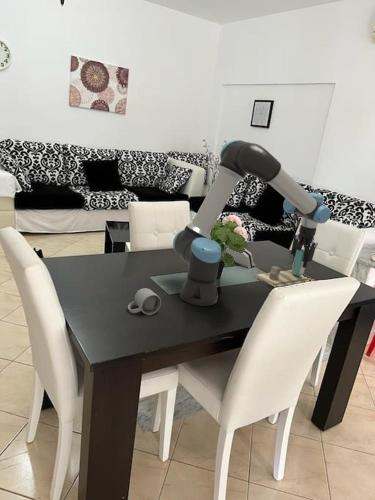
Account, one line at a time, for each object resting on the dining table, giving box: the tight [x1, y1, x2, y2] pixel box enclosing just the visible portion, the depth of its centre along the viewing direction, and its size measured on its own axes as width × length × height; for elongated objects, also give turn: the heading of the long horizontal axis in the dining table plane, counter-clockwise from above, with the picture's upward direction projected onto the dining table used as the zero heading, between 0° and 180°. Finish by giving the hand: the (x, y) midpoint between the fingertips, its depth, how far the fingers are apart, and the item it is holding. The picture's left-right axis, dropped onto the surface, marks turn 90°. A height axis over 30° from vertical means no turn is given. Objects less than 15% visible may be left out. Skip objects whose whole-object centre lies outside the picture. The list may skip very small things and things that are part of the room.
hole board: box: [253, 265, 316, 287], centre depth 187 cm, size 28×14×7 cm, turn 123°
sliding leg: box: [291, 248, 304, 276], centre depth 190 cm, size 4×4×13 cm
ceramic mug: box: [127, 287, 162, 316], centre depth 138 cm, size 11×8×8 cm
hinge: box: [225, 247, 256, 269], centre depth 202 cm, size 17×5×10 cm, turn 42°
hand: (297, 271), depth 192 cm, fingers closed on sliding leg, 4 cm apart
